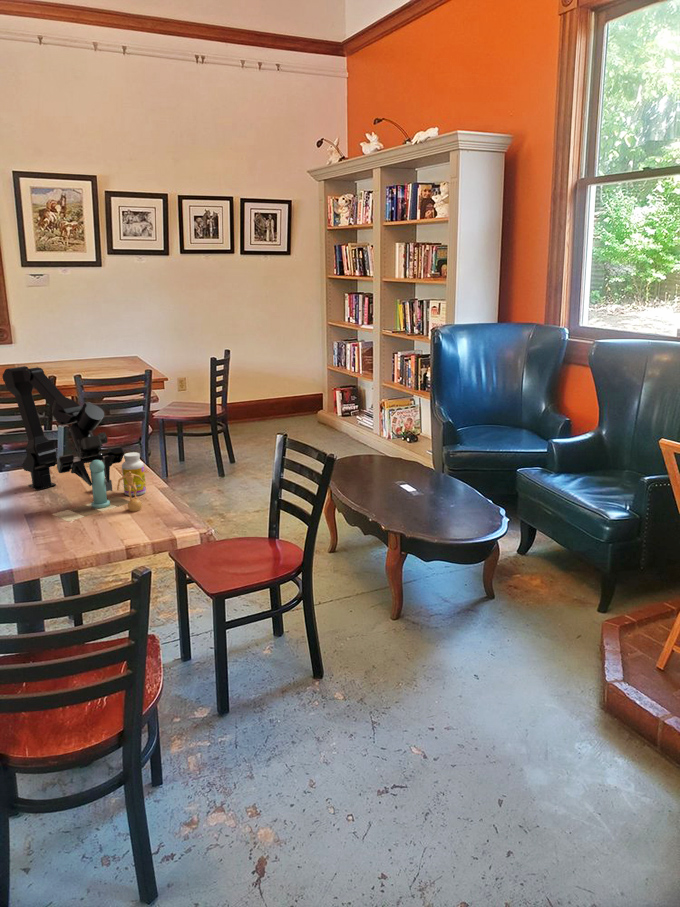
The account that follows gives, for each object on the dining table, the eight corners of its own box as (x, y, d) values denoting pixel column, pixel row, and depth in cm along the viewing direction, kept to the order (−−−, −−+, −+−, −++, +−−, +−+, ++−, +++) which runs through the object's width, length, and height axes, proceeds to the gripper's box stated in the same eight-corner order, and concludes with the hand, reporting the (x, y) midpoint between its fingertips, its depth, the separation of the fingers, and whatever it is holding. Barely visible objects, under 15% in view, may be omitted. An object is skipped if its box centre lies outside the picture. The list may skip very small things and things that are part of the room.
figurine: (123, 516, 196) (119, 477, 193) (117, 511, 201) (112, 472, 198) (151, 510, 201) (148, 471, 197) (144, 505, 205) (141, 467, 202)
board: (50, 516, 197) (50, 514, 197) (115, 497, 212) (115, 495, 212) (68, 524, 191) (67, 522, 191) (134, 504, 206) (133, 502, 206)
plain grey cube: (94, 492, 218) (93, 480, 217) (105, 489, 221) (104, 477, 219) (101, 495, 215) (99, 483, 214) (112, 492, 218) (111, 480, 217)
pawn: (88, 505, 203) (83, 460, 200) (104, 501, 207) (99, 456, 203) (97, 509, 200) (92, 463, 196) (113, 504, 204) (108, 459, 200)
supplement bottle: (147, 495, 214) (143, 455, 211) (125, 497, 212) (120, 458, 209) (145, 488, 220) (142, 450, 217) (124, 491, 218) (120, 452, 215)
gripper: (54, 429, 194) (71, 475, 189) (119, 420, 205) (136, 463, 200) (50, 450, 203) (65, 495, 197) (112, 440, 213) (128, 482, 208)
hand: (99, 483), depth 200 cm, fingers open, 5 cm apart
